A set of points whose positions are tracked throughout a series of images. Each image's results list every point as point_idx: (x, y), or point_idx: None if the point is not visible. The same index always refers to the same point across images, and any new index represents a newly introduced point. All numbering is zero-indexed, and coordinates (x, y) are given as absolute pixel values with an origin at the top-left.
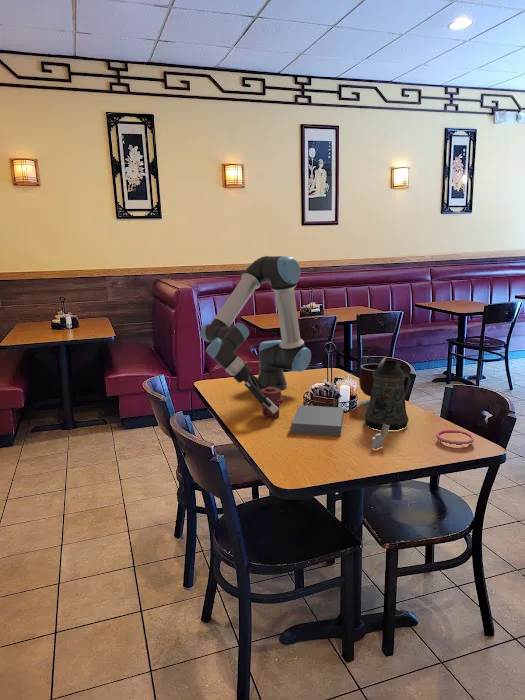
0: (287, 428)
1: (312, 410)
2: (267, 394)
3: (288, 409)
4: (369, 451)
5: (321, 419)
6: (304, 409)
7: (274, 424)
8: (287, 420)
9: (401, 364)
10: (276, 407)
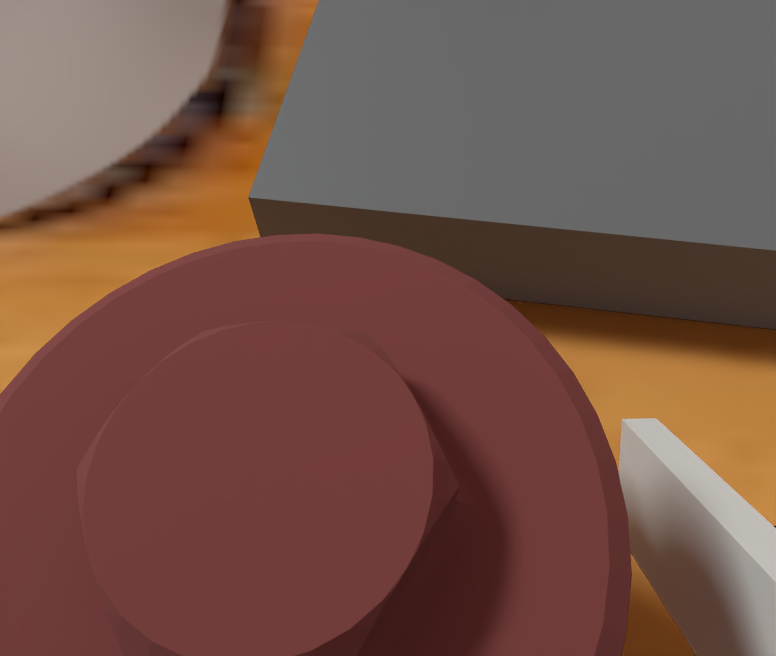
0: (759, 388)
1: (451, 87)
2: (620, 610)
3: None
4: None
5: (731, 31)
6: (420, 150)
7: None
8: None
9: None
10: (676, 446)
